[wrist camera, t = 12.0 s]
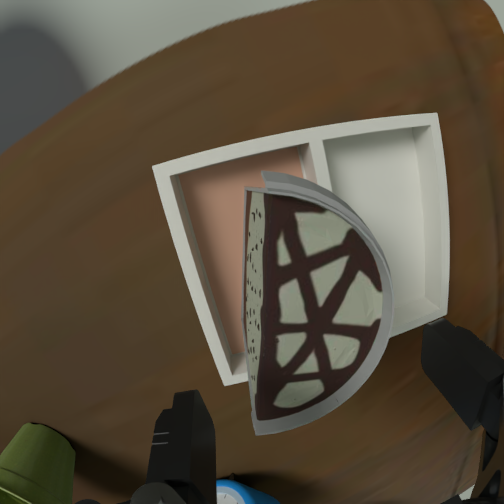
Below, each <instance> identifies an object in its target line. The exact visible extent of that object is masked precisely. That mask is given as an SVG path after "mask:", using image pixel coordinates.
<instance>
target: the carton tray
mask: <svg viewBox="0 0 504 504" xmlns="http://www.w3.org/2000/svg"><path fill="white" fill-rule="evenodd" d="M152 168H153V172H154V175H155V179H156V183H157V186H158V190H159V194H160V197H161V201H162V204H163V208H164V211H165V214H166V218H167V221H168V225H169V228H170V231H171V235H172V238H173V241H174V244H175V248H176V251H177V254H178V257H179V260H180V263H181V266H182V270H183V273H184V276H185V279H186V282H187V285H188V288H189V291H190V294H191V297H192V299H193V302H194V305H195V308H196V311H197V314H198V317H199V320H200V322H201V325H202V328H203V331H204V334H205V336H206V339H207V342H208V344H209V347H210V350H211V352H212V355H213V358H214V360H215V363H216V366H217V368H218V371H219V373H220V376H221V379H222V381H223V384H224V386H227V385H231V384H236V383H240V382H245V381H248V372H247V364H246V356H245V347H244V339H243V330H242V322H241V305H242V259H243V219H244V186H248V187H260V188H265V182H264V180H263V178H262V175H261V170H262V171H271V172H280V173H286V174H289V175H293V176H296V177H300V178H303V179H306V180H309V181H311V182H313V183H315V184H317V185H319V186H321V187H323V188H325V189H327V190H329V191H331V192H332V193H333V194H335V195H336V196H338V197H339V198H340V199H342V200H343V201H344V202H346V203H347V204H348V205H349V206H350V207H351V208H352V209H353V210H354V211H355V212H356V214H357V215H358V216H359V217H360V218H361V219H362V220H363V222H364V223H365V224H366V226H367V227H368V228H369V230H370V231H371V232H372V234H373V236H374V237H375V239H376V241H377V242H378V244H379V245H380V247H381V249H382V250H383V253H384V256H385V258H386V261H387V264H388V266H389V269H390V274H391V280H392V285H393V292H394V319H393V325H392V330H391V334H390V337H393V336H396V335H398V334H401V333H403V332H406V331H408V330H411V329H413V328H416V327H418V326H421V325H423V324H426V323H428V322H430V321H433V320H435V319H437V318H440V317H442V316H444V315H446V314H447V306H448V291H449V264H450V234H449V207H448V192H447V180H446V170H445V161H444V153H443V145H442V138H441V132H440V126H439V120H438V114H437V113H427V114H414V115H403V116H393V117H384V118H375V119H367V120H360V121H352V122H345V123H339V124H332V125H326V126H320V127H314V128H308V129H303V130H297V131H292V132H287V133H282V134H277V135H272V136H267V137H262V138H258V139H253V140H249V141H244V142H240V143H236V144H231V145H227V146H223V147H219V148H215V149H211V150H207V151H204V152H200V153H196V154H192V155H189V156H185V157H182V158H178V159H175V160H171V161H168V162H164V163H161V164H158V165H154V166H152ZM390 337H389V338H390Z"/></svg>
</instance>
